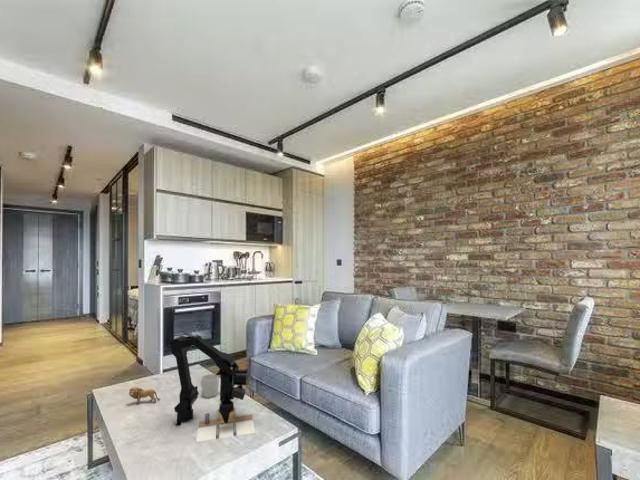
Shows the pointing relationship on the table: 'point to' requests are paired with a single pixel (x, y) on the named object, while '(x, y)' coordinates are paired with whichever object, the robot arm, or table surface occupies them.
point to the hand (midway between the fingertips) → (226, 417)
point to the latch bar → (231, 419)
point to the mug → (210, 385)
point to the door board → (224, 428)
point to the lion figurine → (142, 394)
